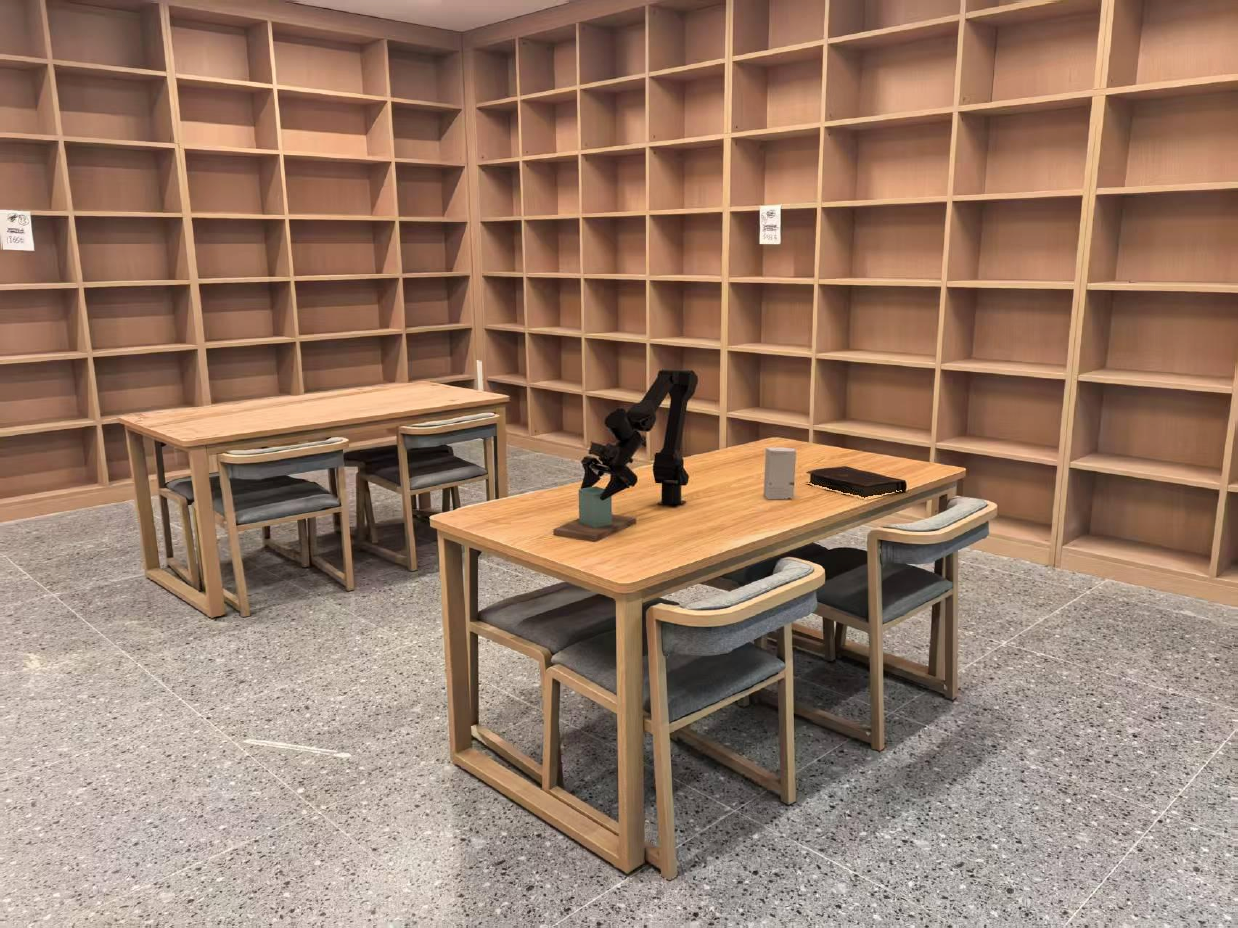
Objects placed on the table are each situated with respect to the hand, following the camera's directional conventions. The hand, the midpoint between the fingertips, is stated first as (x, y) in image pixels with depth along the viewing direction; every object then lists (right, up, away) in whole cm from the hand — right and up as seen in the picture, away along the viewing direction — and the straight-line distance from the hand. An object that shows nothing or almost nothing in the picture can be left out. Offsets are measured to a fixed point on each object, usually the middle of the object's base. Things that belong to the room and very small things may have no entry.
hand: (590, 496), depth 242 cm
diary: (+80, 0, +45) cm, 92 cm away
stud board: (+1, -9, +3) cm, 9 cm away
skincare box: (+55, -2, +35) cm, 65 cm away
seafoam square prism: (+1, -7, +2) cm, 8 cm away
